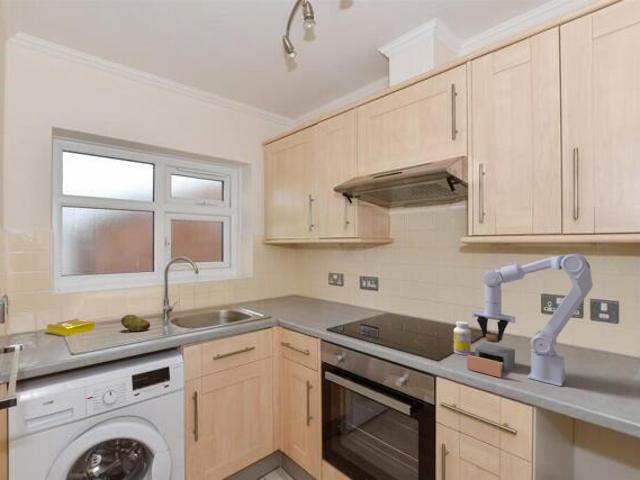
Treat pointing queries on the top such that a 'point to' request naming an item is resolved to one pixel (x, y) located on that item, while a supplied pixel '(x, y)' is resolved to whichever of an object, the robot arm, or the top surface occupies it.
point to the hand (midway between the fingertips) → (492, 338)
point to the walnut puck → (492, 337)
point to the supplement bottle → (462, 338)
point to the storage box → (497, 354)
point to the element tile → (70, 327)
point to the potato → (135, 323)
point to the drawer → (484, 365)
